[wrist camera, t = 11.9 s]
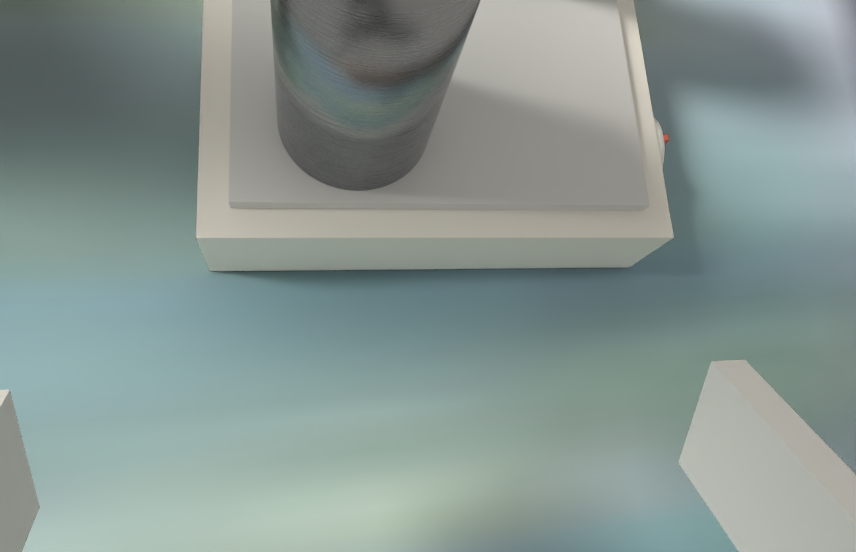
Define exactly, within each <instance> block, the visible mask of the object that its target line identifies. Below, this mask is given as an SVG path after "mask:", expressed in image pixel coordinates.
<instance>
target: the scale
mask: <svg viewBox="0 0 856 552" xmlns="http://www.w3.org/2000/svg"><path fill="white" fill-rule="evenodd" d="M668 141H669V136H668V134H663V132H662V128H661V126H660V124H659V122H658V121H657V120H656V119H655V118H654V117H653V111H652V106H651V100H650V94H649V88H648V82H647V76H646V70H645V64H644V58H643V52H642V47H641V41H640V35H639V29H638V23H637V17H636V11H635V5H634V0H481V1H480V3H479V6H478V9H477V11H476V14H475V17H474V19H473V22H472V25H471V27H470V30H469V33H468V36H467V38H466V41H465V44H464V46H463V49H462V52H461V54H460V57H459V60H458V62H457V65H456V68H455V70H454V73H453V76H452V79H451V81H450V84H449V87H448V89H447V92H446V95H445V97H444V100H443V103H442V105H441V108H440V111H439V113H438V116H437V119H436V122H435V124H434V127H433V130H432V132H431V135H430V138H429V140H428V143H427V146H426V148H425V151H424V153H423V155H422V157H421V158H420V160H419V161H418V163H417V164H416V165H415V166H414V168H413V169H412V170H411V171H410V172H409V173H407V174H406V175H405V176H404V177H402V178H401V179H399V180H397V181H396V182H394V183H392V184H389V185H387V186H384V187H381V188H378V189H372V190H363V191H353V190H344V189H339V188H335V187H332V186H329V185H326V184H324V183H322V182H320V181H317V180H316V179H314V178H313V177H311V176H309V175H308V174H307V173H305V172H304V171H303V170H302V169H301V168H300V167H299V166H298V165H297V164H296V163H295V162H294V161H293V160H292V158H291V157H290V156H289V154H288V153H287V151H286V149H285V147H284V146H283V143H282V141H281V138H280V135H279V130H278V123H277V108H276V90H275V73H274V56H273V39H272V21H271V4H270V0H203V30H202V62H201V95H200V127H199V159H198V191H197V223H196V239H197V242H198V244H199V246H200V249H201V251H202V254H203V256H204V259H205V261H206V263H207V266H208V268H209V271H285V270H393V269H502V268H610V267H631V266H632V265H634V264H635V263H637V262H638V261H640V260H641V259H643V258H644V257H646V256H647V255H649V254H650V253H652V252H653V251H655V250H656V249H658V248H659V247H661V246H662V245H664V244H665V243H667V242H668V241H670V240H671V239H672V238H674V235H673V229H672V223H671V217H670V212H669V206H668V200H667V194H666V188H665V182H664V176H663V170H662V168H663V164H664V155H665V144H666V143H667V142H668Z"/></svg>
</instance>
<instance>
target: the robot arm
mask: <svg viewBox="0 0 856 552" xmlns="http://www.w3.org/2000/svg"><path fill="white" fill-rule="evenodd" d="M678 463H679V464H680V466H681V467H682V469H683V470H684V472H685V473H686V475H687V476H688V478H689V479H690V481H691V482H692V483H693V485H694V486H695V488H696V489H697V491H698V492H699V494H700V495H701V497H702V498H703V500H704V501H705V503H706V504H707V506H708V507H709V509H710V510H711V512H712V513H713V515H714V516H715V518H716V519H717V520H718V522H719V523H720V525H721V526H722V528H723V529H724V531H725V532H726V534H727V535H728V537H729V538H730V540H731V541H732V543H733V544H734V546H735V547H736V549H737V550H738V552H856V474H855V473H854V472H853V471H852V470H851V469H850V468H849V467H848V466H847V465H846V464H845V463H844V462H843V461H842V460H841V459H840V458H839V457H838V456H837V455H836V454H835V453H834V452H833V451H832V449H831V448H830V447H829V446H828V445H827V444H826V443H825V442H824V441H823V440H822V439H821V438H820V437H819V436H818V435H817V434H816V433H815V432H814V431H813V430H812V429H811V428H810V427H809V426H808V425H807V424H806V422H805V421H804V420H803V419H802V418H801V417H800V416H799V415H798V414H797V413H796V412H795V411H794V410H793V409H792V408H791V407H790V406H789V405H788V404H787V403H786V402H785V401H784V400H783V399H782V398H781V397H780V396H779V394H778V393H777V392H776V391H775V390H774V389H773V388H772V387H771V386H770V385H769V384H768V383H767V382H766V381H765V380H764V379H763V378H762V377H761V376H760V375H759V374H758V373H757V372H756V371H755V370H754V369H753V367H752V366H751V365H750V364H749V363H748V362H747V361H746V360H725V361H711V364H710V367H709V370H708V373H707V376H706V379H705V382H704V385H703V388H702V391H701V394H700V398H699V401H698V404H697V407H696V410H695V413H694V416H693V419H692V422H691V425H690V428H689V431H688V434H687V437H686V441H685V444H684V447H683V450H682V453H681V456H680V459H679V462H678ZM39 508H40V507H39V503H38V499H37V495H36V491H35V487H34V483H33V479H32V475H31V471H30V467H29V463H28V459H27V455H26V451H25V448H24V444H23V440H22V436H21V432H20V428H19V424H18V420H17V416H16V412H15V408H14V404H13V400H12V396H11V392H10V390H0V552H22V550H23V547H24V545H25V542H26V540H27V537H28V535H29V532H30V530H31V527H32V525H33V522H34V520H35V517H36V515H37V513H38V510H39Z"/></svg>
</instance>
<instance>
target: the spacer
mask: <svg viewBox="0 0 856 552" xmlns="http://www.w3.org/2000/svg"><path fill="white" fill-rule="evenodd" d="M480 1H481V0H270V4H271V21H272V39H273V56H274V73H275V90H276V108H277V123H278V130H279V135H280V138H281V141H282V143H283V146H284V147H285V149H286V151H287V153H288V154H289V156H290V157H291V158H292V160H293V161H294V162H295V163H296V164H297V165H298V166H299V167H300V168H301V169H302V170H303V171H304V172H305V173H307V174H308V175H309V176H311V177H313V178H314V179H316V180H317V181H320V182H322V183H324V184H326V185H329V186H332V187H335V188H339V189H344V190H353V191H363V190H372V189H378V188H381V187H384V186H387V185H389V184H392V183H394V182H396V181H397V180H399V179H401V178H402V177H404V176H405V175H406V174H407V173H409V172H410V171H411V170H412V169H413V168H414V166H415V165H416V164H417V163H418V161H419V160H420V158H421V157H422V155H423V153H424V151H425V148H426V146H427V143H428V140H429V138H430V135H431V132H432V130H433V127H434V124H435V122H436V119H437V116H438V113H439V111H440V108H441V105H442V103H443V100H444V97H445V95H446V92H447V89H448V87H449V84H450V81H451V79H452V76H453V73H454V70H455V68H456V65H457V62H458V60H459V57H460V54H461V52H462V49H463V46H464V44H465V41H466V38H467V36H468V33H469V30H470V27H471V25H472V22H473V19H474V17H475V14H476V11H477V9H478V6H479V3H480Z"/></svg>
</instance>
